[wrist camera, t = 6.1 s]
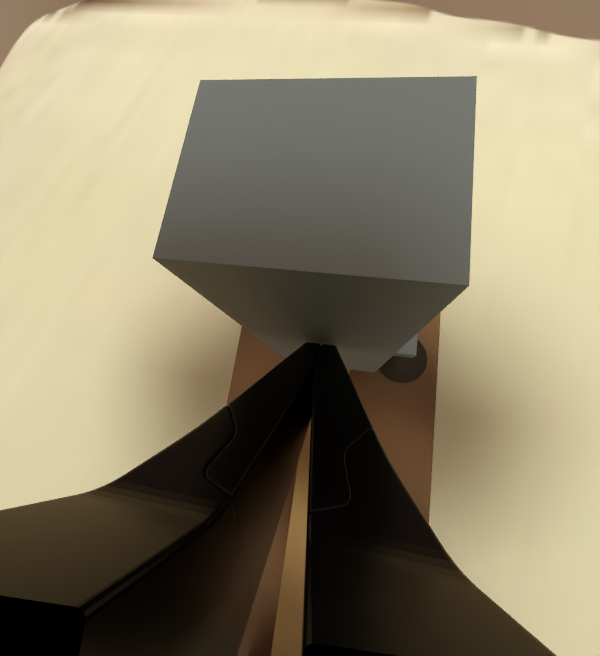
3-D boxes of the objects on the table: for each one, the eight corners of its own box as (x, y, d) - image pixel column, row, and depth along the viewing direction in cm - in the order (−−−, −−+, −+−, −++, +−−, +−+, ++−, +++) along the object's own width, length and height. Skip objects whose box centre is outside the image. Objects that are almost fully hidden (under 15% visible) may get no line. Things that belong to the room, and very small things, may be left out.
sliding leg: (409, 379, 14) (635, 299, 3) (290, 362, 15) (152, 258, 4) (413, 317, 15) (617, 73, 4) (299, 305, 16) (200, 80, 5)
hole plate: (405, 784, 13) (447, 1038, 8) (177, 707, 14) (87, 873, 9) (433, 319, 17) (472, 282, 12) (254, 300, 18) (221, 261, 13)
